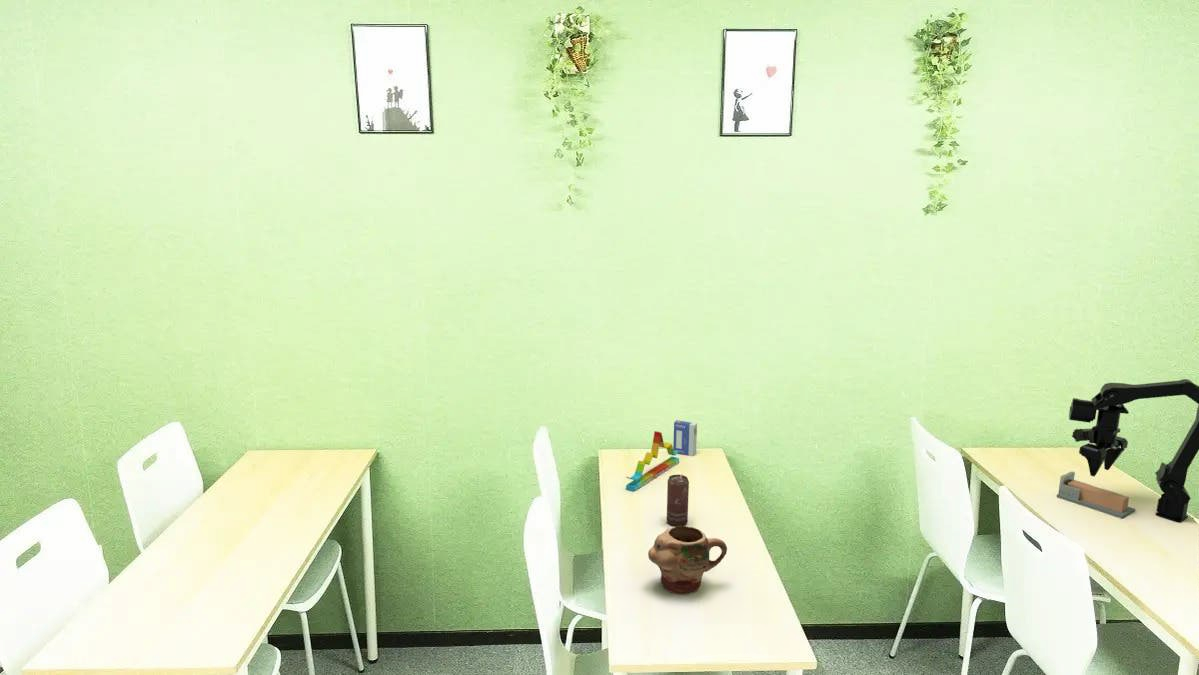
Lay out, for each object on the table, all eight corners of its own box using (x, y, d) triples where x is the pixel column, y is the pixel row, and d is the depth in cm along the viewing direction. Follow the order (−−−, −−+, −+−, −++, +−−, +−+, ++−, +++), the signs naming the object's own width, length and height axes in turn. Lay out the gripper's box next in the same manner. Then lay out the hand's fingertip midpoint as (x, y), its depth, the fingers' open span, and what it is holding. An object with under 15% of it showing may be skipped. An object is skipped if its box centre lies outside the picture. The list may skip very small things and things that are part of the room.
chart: (634, 492, 259) (635, 448, 256) (626, 490, 261) (626, 446, 258) (679, 463, 284) (680, 422, 281) (671, 461, 286) (672, 421, 283)
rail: (1127, 509, 247) (1129, 496, 246) (1121, 512, 245) (1123, 500, 244) (1072, 491, 260) (1074, 479, 259) (1066, 494, 258) (1068, 482, 257)
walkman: (673, 453, 293) (674, 421, 291) (675, 450, 296) (676, 419, 293) (693, 456, 290) (694, 424, 287) (696, 454, 292) (697, 422, 290)
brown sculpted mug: (715, 567, 212) (717, 518, 209) (733, 591, 201) (736, 540, 198) (641, 576, 208) (642, 526, 205) (656, 601, 196) (657, 549, 193)
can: (689, 519, 241) (690, 474, 237) (685, 528, 235) (687, 483, 231) (668, 516, 242) (670, 472, 239) (664, 525, 236) (666, 480, 233)
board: (1135, 511, 248) (1135, 508, 248) (1121, 518, 243) (1122, 516, 243) (1070, 490, 263) (1070, 488, 263) (1056, 496, 258) (1056, 494, 258)
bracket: (1088, 495, 257) (1091, 477, 256) (1078, 500, 253) (1080, 482, 252) (1069, 488, 262) (1071, 471, 261) (1058, 493, 258) (1060, 476, 257)
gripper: (1093, 412, 259) (1086, 458, 262) (1064, 423, 248) (1057, 470, 252) (1132, 421, 250) (1124, 469, 253) (1104, 433, 239) (1096, 482, 243)
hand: (1099, 472), depth 250 cm, fingers open, 9 cm apart
